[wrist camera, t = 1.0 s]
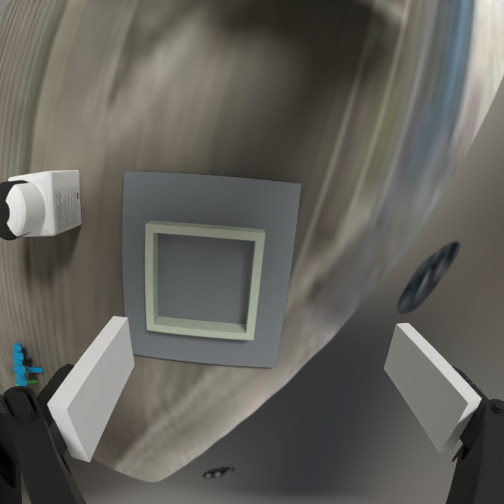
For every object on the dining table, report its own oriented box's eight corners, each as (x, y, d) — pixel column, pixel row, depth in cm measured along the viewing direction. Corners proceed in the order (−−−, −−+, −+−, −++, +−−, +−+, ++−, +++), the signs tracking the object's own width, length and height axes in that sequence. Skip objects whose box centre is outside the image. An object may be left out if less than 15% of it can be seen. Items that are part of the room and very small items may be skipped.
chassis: (128, 171, 37) (116, 171, 33) (299, 183, 38) (305, 184, 34) (131, 348, 43) (123, 362, 39) (274, 362, 45) (277, 377, 41)
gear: (12, 331, 40) (20, 380, 35) (40, 333, 45) (52, 380, 40) (9, 363, 44) (18, 407, 38) (33, 364, 48) (45, 406, 43)
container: (41, 226, 38) (-15, 247, 25) (38, 175, 36) (-20, 180, 24) (82, 225, 38) (29, 247, 26) (80, 169, 36) (23, 172, 24)
